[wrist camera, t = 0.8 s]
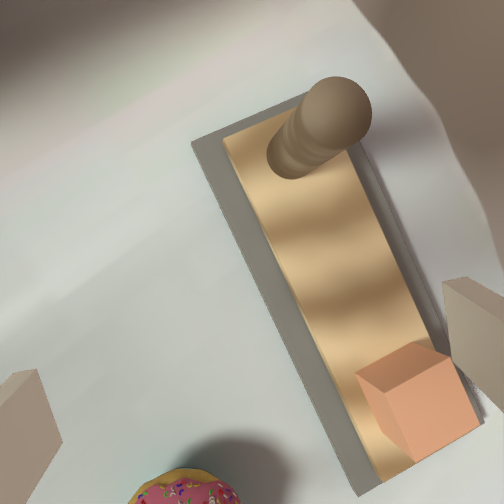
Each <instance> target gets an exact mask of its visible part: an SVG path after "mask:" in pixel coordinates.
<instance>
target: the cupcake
mask: <svg viewBox="0 0 504 504" xmlns="http://www.w3.org/2000/svg"><path fill="white" fill-rule="evenodd" d="M128 504H241V503H240V501H239V498H238V496H237V494H236V493H235V492H234V490H233V489H232V488H231V487H230V486H229V485H227V484H226V483H224V482H222V481H221V480H219V479H218V478H216V477H215V476H213V475H211V474H210V473H208V472H206V471H204V470H199V469H191V468H180V469H175V470H172V471H169V472H167V473H164V474H162V475H160V476H158V477H157V478H155V479H153V480H151V481H149V482H146V483H144V484H143V485H142V486H141V487H140V488H139V489H138V490H137V492H136V493H135V494H134V496H133V497H132V499H131V500H130V501H129V503H128Z"/></svg>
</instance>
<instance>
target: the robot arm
mask: <svg viewBox="0 0 504 504" xmlns="http://www.w3.org/2000/svg"><path fill="white" fill-rule="evenodd" d="M442 286H443V294H444V302H445V310H446V318H447V325H448V333H449V341H450V349H451V357H452V362H453V363H454V364H455V365H456V366H457V367H458V368H459V369H460V370H461V371H462V372H463V373H464V374H465V375H466V376H467V377H468V378H469V379H470V380H471V381H472V382H473V383H474V384H475V385H476V386H477V387H478V388H479V389H480V390H481V391H482V392H483V393H484V394H485V395H486V396H487V397H488V398H489V399H490V400H491V401H492V402H493V403H494V404H495V405H496V406H497V407H498V408H499V409H500V410H501V411H502V412H503V413H504V298H503V297H501V296H500V295H498V294H496V293H494V292H493V291H491V290H489V289H487V288H486V287H484V286H482V285H480V284H478V283H477V282H475V281H473V280H471V279H470V278H468V277H462V278H457V279H453V280H448V281H443V282H442ZM62 443H63V442H62V439H61V436H60V433H59V430H58V428H57V425H56V422H55V419H54V416H53V413H52V411H51V408H50V405H49V402H48V399H47V397H46V394H45V391H44V388H43V385H42V383H41V380H40V377H39V374H38V371H37V369H31V370H27V371H22V372H17V373H13V374H12V375H11V376H10V377H9V378H8V379H7V380H6V381H5V382H4V383H3V384H2V385H1V386H0V504H26V502H27V500H28V499H29V497H30V495H31V494H32V492H33V490H34V489H35V487H36V486H37V484H38V482H39V481H40V479H41V477H42V476H43V474H44V472H45V471H46V469H47V468H48V466H49V464H50V463H51V461H52V459H53V458H54V456H55V454H56V453H57V451H58V450H59V448H60V446H61V445H62Z"/></svg>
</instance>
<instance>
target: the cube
mask: <svg viewBox="0 0 504 504" xmlns="http://www.w3.org/2000/svg"><path fill="white" fill-rule="evenodd" d="M355 375H356V378H357V380H358V382H359V384H360V386H361V388H362V391H363V393H364V395H365V397H366V399H367V401H368V404H369V406H370V408H371V410H372V412H373V414H374V417H375V419H376V421H377V423H378V425H379V427H380V430H381V432H382V433H383V434H384V435H386V436H387V437H388V438H389V439H390V440H391V441H392V442H393V443H394V444H396V445H397V446H398V447H399V448H400V449H401V450H402V451H403V452H405V453H406V454H407V455H408V456H409V457H410V458H411V459H412V460H413V461H415V462H418V461H420V460H421V459H423V458H425V457H427V456H428V455H430V454H432V453H433V452H435V451H437V450H439V449H440V448H442V447H444V446H445V445H447V444H449V443H450V442H452V441H454V440H456V439H457V438H459V437H461V436H462V435H464V434H466V433H468V432H469V431H471V430H473V429H474V428H476V427H478V426H479V425H480V423H479V421H478V419H477V416H476V414H475V412H474V410H473V407H472V405H471V403H470V401H469V398H468V396H467V394H466V392H465V389H464V387H463V385H462V383H461V380H460V378H459V376H458V374H457V371H456V369H455V367H454V365H453V362H452V360H451V358H450V357H449V356H446V355H444V354H441V353H439V352H436V351H433V350H431V349H428V348H426V347H423V346H420V345H418V344H415V343H413V342H410V343H408V344H406V345H405V346H403V347H401V348H399V349H397V350H395V351H393V352H392V353H390V354H388V355H386V356H384V357H382V358H380V359H379V360H377V361H375V362H373V363H371V364H369V365H368V366H366V367H364V368H362V369H360V370H358V371H356V372H355Z"/></svg>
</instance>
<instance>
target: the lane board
mask: <svg viewBox="0 0 504 504" xmlns="http://www.w3.org/2000/svg"><path fill="white" fill-rule="evenodd" d="M308 92H309V91H308ZM308 92H305V93H303V94H301V95H299V96H296V97H294V98H292V99H289V100H287V101H285V102H282V103H280V104H278V105H275V106H273V107H271V108H268V109H266V110H264V111H261V112H259V113H257V114H254V115H252V116H250V117H248V118H245V119H243V120H241V121H238V122H236V123H234V124H231V125H229V126H227V127H224V128H222V129H220V130H217V131H215V132H213V133H210V134H208V135H206V136H204V137H201V138H199V139H197V140H194V141H192V142H191V146H192V148H193V150H194V153H195V155H196V157H197V159H198V161H199V163H200V165H201V167H202V170H203V172H204V174H205V176H206V178H207V180H208V182H209V184H210V187H211V189H212V191H213V193H214V195H215V197H216V199H217V202H218V204H219V206H220V208H221V210H222V212H223V214H224V216H225V219H226V221H227V223H228V225H229V227H230V229H231V231H232V233H233V236H234V238H235V240H236V242H237V244H238V246H239V248H240V250H241V253H242V255H243V257H244V259H245V261H246V263H247V265H248V267H249V270H250V272H251V274H252V276H253V278H254V280H255V282H256V284H257V287H258V289H259V291H260V293H261V295H262V297H263V299H264V302H265V304H266V306H267V308H268V310H269V312H270V314H271V316H272V319H273V321H274V323H275V325H276V327H277V329H278V331H279V333H280V336H281V338H282V340H283V342H284V344H285V346H286V348H287V350H288V353H289V355H290V357H291V359H292V361H293V363H294V365H295V367H296V370H297V372H298V374H299V376H300V378H301V380H302V382H303V384H304V387H305V389H306V391H307V393H308V395H309V397H310V399H311V402H312V404H313V406H314V408H315V410H316V412H317V414H318V416H319V419H320V421H321V423H322V425H323V427H324V429H325V431H326V433H327V436H328V438H329V440H330V442H331V444H332V446H333V448H334V450H335V453H336V455H337V457H338V459H339V461H340V463H341V465H342V467H343V470H344V472H345V474H346V476H347V478H348V480H349V482H350V484H351V487H352V489H353V491H354V492H355V494H356V495H357V496H358V497H359V496H361V495H363V494H364V493H366V492H368V491H370V490H371V489H373V488H375V487H376V486H378V485H380V484H381V483H383V482H382V481H381V479H380V478H379V477H378V476H377V475H376V473H375V471H374V468H373V466H372V464H371V462H370V460H369V458H368V455H367V453H366V451H365V449H364V447H363V445H362V443H361V440H360V438H359V436H358V434H357V432H356V430H355V428H354V425H353V423H352V421H351V419H350V417H349V415H348V412H347V410H346V408H345V406H344V404H343V402H342V400H341V397H340V395H339V393H338V391H337V389H336V387H335V384H334V382H333V380H332V378H331V376H330V374H329V372H328V369H327V367H326V365H325V363H324V361H323V359H322V357H321V354H320V352H319V350H318V348H317V346H316V344H315V341H314V339H313V337H312V335H311V333H310V331H309V329H308V326H307V324H306V322H305V320H304V318H303V316H302V314H301V311H300V309H299V307H298V305H297V303H296V301H295V298H294V296H293V294H292V292H291V290H290V288H289V286H288V283H287V281H286V279H285V277H284V275H283V273H282V271H281V268H280V266H279V264H278V262H277V260H276V258H275V255H274V253H273V251H272V249H271V247H270V245H269V243H268V240H267V238H266V236H265V234H264V232H263V230H262V228H261V225H260V223H259V221H258V219H257V217H256V215H255V212H254V210H253V208H252V206H251V204H250V202H249V200H248V197H247V195H246V193H245V191H244V189H243V187H242V185H241V182H240V180H239V178H238V176H237V174H236V172H235V169H234V167H233V165H232V163H231V161H230V159H229V157H228V154H227V152H226V150H225V148H224V146H223V144H222V141H223V138H226V137H228V136H230V135H233V134H235V133H237V132H240V131H242V130H244V129H246V128H249V127H251V126H253V125H256V124H258V123H260V122H263V121H265V120H267V119H269V118H272V117H274V116H276V115H279V114H281V113H283V112H285V111H288V110H290V109H292V108H295V107H297V106H298V105H299V103H300V102H301V101H302V100H303V98H304V97H305V96H306V95H307V93H308ZM346 151H347V153H348V155H349V158H350V160H351V162H352V164H353V167H354V169H355V171H356V173H357V176H358V178H359V180H360V182H361V184H362V187H363V189H364V191H365V193H366V196H367V198H368V200H369V202H370V205H371V207H372V209H373V211H374V214H375V216H376V218H377V220H378V223H379V225H380V227H381V229H382V232H383V234H384V236H385V238H386V240H387V243H388V245H389V247H390V249H391V252H392V254H393V256H394V258H395V261H396V263H397V265H398V267H399V270H400V272H401V274H402V276H403V279H404V281H405V283H406V285H407V287H408V290H409V292H410V294H411V296H412V299H413V301H414V303H415V305H416V308H417V310H418V312H419V314H420V317H421V319H422V321H423V323H424V326H425V328H426V330H427V332H428V335H429V337H430V339H431V341H432V343H433V346H434V348H435V350H436V352H439V353H441V354H444V355H446V356H449V357H450V358H451V360H452V357H451V349H450V343H449V341H448V338H447V336H446V334H445V332H444V329H443V327H442V325H441V323H440V320H439V318H438V316H437V314H436V311H435V309H434V307H433V305H432V302H431V300H430V298H429V296H428V293H427V291H426V289H425V286H424V284H423V282H422V280H421V277H420V275H419V273H418V271H417V268H416V266H415V264H414V262H413V259H412V257H411V255H410V253H409V250H408V248H407V246H406V244H405V241H404V239H403V237H402V235H401V232H400V230H399V228H398V226H397V223H396V221H395V219H394V217H393V214H392V212H391V210H390V208H389V205H388V203H387V201H386V199H385V196H384V194H383V192H382V190H381V187H380V185H379V183H378V181H377V178H376V176H375V174H374V172H373V169H372V167H371V165H370V163H369V160H368V158H367V156H366V154H365V151H364V149H363V147H362V145H361V142H360V141H358V142H357V143H355V144H354V145H352V146H351V147H349V148H348V149H346ZM453 365H454V367H455V369H456V371H457V374H458V376H459V378H460V380H461V383H462V385H463V387H464V389H465V392H466V394H467V396H468V398H469V401H470V403H471V405H472V407H473V410H474V412H475V414H476V416H477V419H478V421H479V423H480V425H482V424H484V423H485V422H484V419H483V417H482V415H481V413H480V410H479V408H478V406H477V404H476V401H475V399H474V397H473V395H472V392H471V390H470V388H469V386H468V383H467V381H466V379H465V377H464V374H463V372H462V371H461V370H460V369H459V368H458V367H457V366H456V365H455V364H454V363H453ZM480 425H479V426H480ZM479 426H478V427H479ZM476 428H477V427H476ZM474 429H475V428H474ZM474 429H473V430H474ZM471 431H472V430H471Z"/></svg>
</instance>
